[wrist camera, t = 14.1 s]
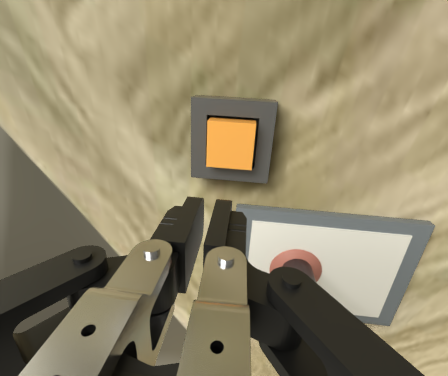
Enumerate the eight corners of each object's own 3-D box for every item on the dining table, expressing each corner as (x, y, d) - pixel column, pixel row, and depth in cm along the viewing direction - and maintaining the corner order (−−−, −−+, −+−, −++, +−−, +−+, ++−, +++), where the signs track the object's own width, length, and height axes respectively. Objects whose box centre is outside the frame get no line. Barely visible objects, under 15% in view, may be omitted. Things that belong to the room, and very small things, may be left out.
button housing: (275, 99, 26) (277, 102, 23) (266, 174, 29) (267, 183, 27) (196, 95, 26) (191, 97, 24) (195, 168, 29) (191, 177, 27)
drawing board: (429, 221, 29) (437, 227, 28) (386, 319, 36) (391, 328, 34) (236, 203, 31) (236, 209, 29) (229, 301, 37) (228, 309, 36)
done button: (255, 120, 25) (256, 123, 23) (251, 163, 26) (251, 170, 25) (210, 117, 25) (207, 120, 23) (209, 160, 27) (206, 166, 25)
